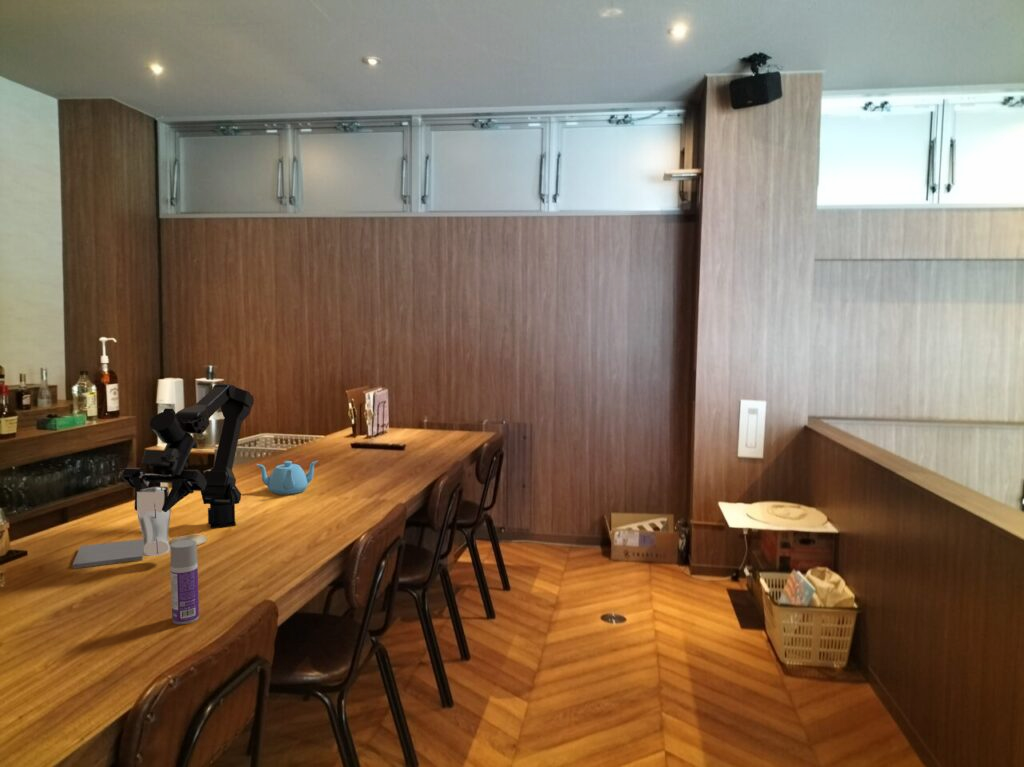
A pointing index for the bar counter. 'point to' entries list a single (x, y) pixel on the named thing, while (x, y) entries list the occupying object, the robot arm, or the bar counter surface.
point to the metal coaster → (198, 538)
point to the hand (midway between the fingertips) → (150, 510)
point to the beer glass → (153, 520)
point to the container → (184, 582)
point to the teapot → (287, 478)
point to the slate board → (108, 553)
